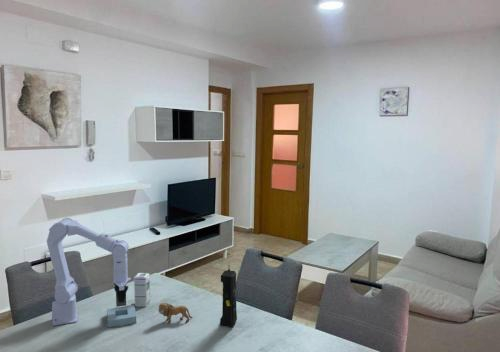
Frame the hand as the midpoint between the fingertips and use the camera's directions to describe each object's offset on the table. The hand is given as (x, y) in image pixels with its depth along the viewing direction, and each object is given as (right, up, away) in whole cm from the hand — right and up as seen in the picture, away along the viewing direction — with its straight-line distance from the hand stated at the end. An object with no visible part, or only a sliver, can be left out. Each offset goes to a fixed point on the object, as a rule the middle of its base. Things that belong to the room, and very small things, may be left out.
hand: (121, 299), depth 167 cm
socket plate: (0, -9, +1) cm, 9 cm away
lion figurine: (+23, -10, 0) cm, 25 cm away
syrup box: (+5, -7, +16) cm, 18 cm away
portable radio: (+47, -10, -1) cm, 48 cm away
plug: (0, -2, 0) cm, 2 cm away
